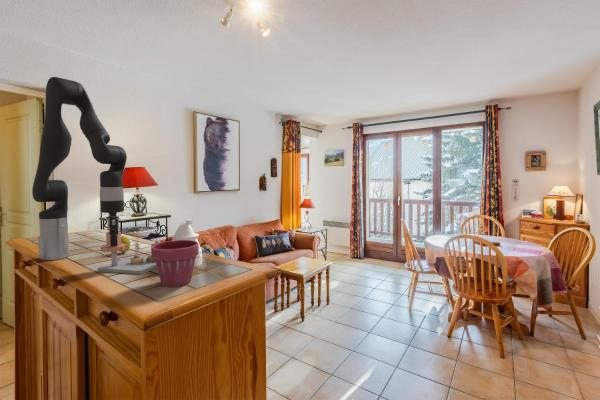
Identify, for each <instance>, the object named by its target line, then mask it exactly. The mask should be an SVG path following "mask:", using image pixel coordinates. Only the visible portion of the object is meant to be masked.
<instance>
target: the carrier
mask: <svg viewBox="0 0 600 400" xmlns="http://www.w3.org/2000/svg"><path fill="white" fill-rule="evenodd" d="M157 243H161V240H155V241H154V243H151V244H150V245H151V246H150V248H151V247H152V246H153V245H155V244H157ZM110 254H111V263H108V264H105V265H102V266H100V267H97V271H98V272H104V273H105V272H107V273H116V274H117V273H118V274H119V273H121V274H133V275H143V274H146V273H147V272H149V271H152V270H154V269H157V266H156V262H155V260H154V259H152V256H151V255H148V256H146V255H145V256H142V255H141V254H134V255H132V256H129V257H126V258H123V259H121V260H120V259H119V260H118V251H117V252H110Z"/></svg>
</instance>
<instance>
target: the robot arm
mask: <svg viewBox="0 0 600 400" xmlns="http://www.w3.org/2000/svg"><path fill="white" fill-rule="evenodd" d="M44 101H45V104H44V107H45V108H44V119H43V129H42V133H41V138H40V144H39V145H40V146H39V155H38V164H37V168H36V172H35V176H34V179H33V180H34V181H33V184H32V188H31V189H32V190H31V194H32V198H33V200H34V201H35V202H37V203H53V202H54V203H53V205H52V206H50V207H48V208H46V209H44V210H41V211H39V212H38V220H39V221H38V222H39V236H38V257H39V259H40V260H42V261H55V260H57V261H58V260H62V259H66V258H69V257H70V251H69V250H70V248H69V247H70V246H69V226H68V211H69V204H68V203H69V202H68V201H69V200H68V199H69V189H68V188H69V187H68V184H67V182H66V181H64V180H62V179H50V177H51V174H52V173H53V172H54V171H55V169H56V168H57V167H58V166H60V164H61V163H63V162H64V161H65V160H66V159H67V158H68V157H69V155H70V151H71V146H72V139H73V138H72V135H71V132H70V130H69V129H68V127H67V125H66V124H65V122H64V119H63V116H62V107H63V105H68V106H75V107H76V108H77V109H78V110H79V112H80V118H79V127H80V130H81V132H82V133H83V135H84V136H85V138H86V139H87V141H88V143H89V147H90V150H91V155H92V157H93V159H94V160H95V161H96V162H97V163H99V164H103V165H110V166H109V168H108V170H103V171H101V172H100V174H99V186H100V187H99V208H100V212H101V213H103V214H105V213H106V214H108V216H106V224H107V230H108V232H110V233H109V235H110V244H111V246H117V245H118V240H117V236H118V231H119V229H120V225H119V223H120V216H118V213H123V212H124V211H125V199H124V198H125V197H124V196H125V194H124V188H123V187H124V186H123V185H124V184H123V175H124V171H125V167H126V164H127V158H128V156H127V152H126V150H125V149H124V147H122V146H119V145H112V144H111V145H110V144H109V143H110V142H111V136H110V134H109V133H108V131H107V129H106V128H105V127H104V125H103V124H102V122H101V120H100V119H99V117H98V115H97V113H96V111H95V109H94V106H93V103H92V102H91V99H90V96H89V95H88V93H87V91H86V89H85V87H84V86H83V85H82V83H80V82H78V81H76V80H71V79H67V78H62V77H59V76H58V77H57V76H52V77H49V79H48V80H47V82H46V86H45V100H44ZM114 231H115V232H114Z"/></svg>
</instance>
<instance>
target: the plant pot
mask: <svg viewBox="0 0 600 400" xmlns="http://www.w3.org/2000/svg"><path fill="white" fill-rule="evenodd" d="M198 242H199V241H198ZM198 242H196V241H192V240H174V241H172V240H169V241H168V240H167V241H160V243H157V244H155V245H153V246H152V247H151V246H150V250H151V251H150V253H151V254H150V256H152V259H154V260H155V262H156V266H157V268H156V269H157V273H158V277H159V280H160V282H161V283H160V284H161V285H162V286H163V287H166V288H177V287H181V285H182V286H184V285H188V284H189V283H191V282H192V278H193V273H194V268H195V267H194V264H195V259H196V256H197V255H198V254H199V245H200V244H199V245H198ZM190 281H191V282H190ZM187 283H188V284H187ZM176 286H177V287H176Z"/></svg>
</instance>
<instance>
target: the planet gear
mask: <svg viewBox="0 0 600 400" xmlns="http://www.w3.org/2000/svg"><path fill="white" fill-rule="evenodd" d="M114 232H115V231H114ZM109 233H110V232H109V231H108V232H105V236H106V241H105V242H106V244H105V245H103V246H100V252H103V253H111V252H117V253H118V252H120V251H121V250H125V249H127V244H121V237H122V231H119V230H118V236H117V240H118V245H117V246H111V244H110V235H109Z"/></svg>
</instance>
